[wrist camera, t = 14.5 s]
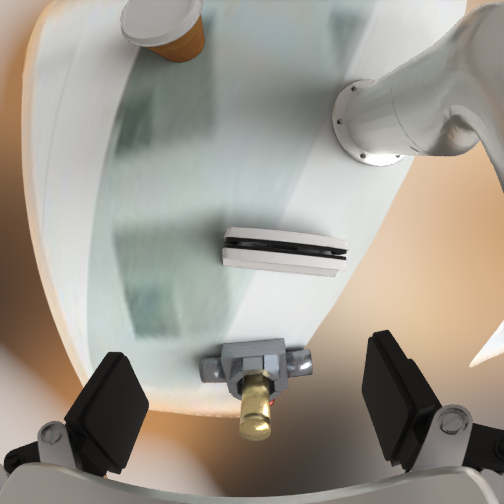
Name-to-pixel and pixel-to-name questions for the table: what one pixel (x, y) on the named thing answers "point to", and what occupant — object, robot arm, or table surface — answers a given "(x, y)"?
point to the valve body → (256, 365)
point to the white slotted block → (284, 251)
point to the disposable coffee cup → (165, 27)
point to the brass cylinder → (255, 408)
